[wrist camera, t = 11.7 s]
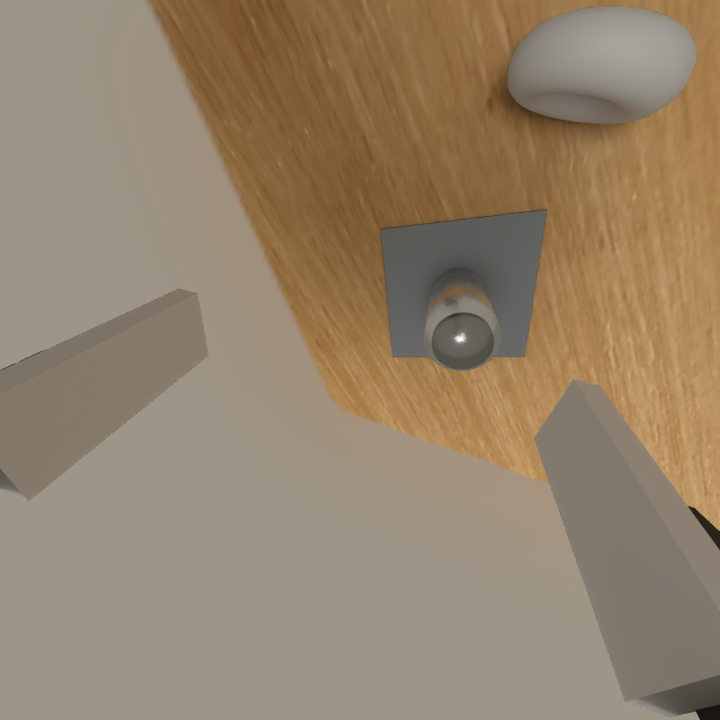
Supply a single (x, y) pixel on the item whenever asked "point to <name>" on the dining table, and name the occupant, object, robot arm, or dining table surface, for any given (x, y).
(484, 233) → the mat
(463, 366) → the shaker
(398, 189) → the dining table surface
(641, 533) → the robot arm
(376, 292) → the dining table surface
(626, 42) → the donut
